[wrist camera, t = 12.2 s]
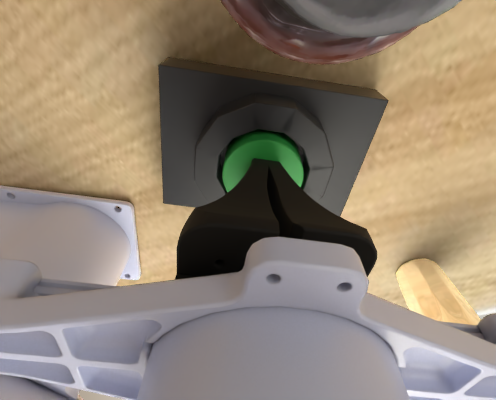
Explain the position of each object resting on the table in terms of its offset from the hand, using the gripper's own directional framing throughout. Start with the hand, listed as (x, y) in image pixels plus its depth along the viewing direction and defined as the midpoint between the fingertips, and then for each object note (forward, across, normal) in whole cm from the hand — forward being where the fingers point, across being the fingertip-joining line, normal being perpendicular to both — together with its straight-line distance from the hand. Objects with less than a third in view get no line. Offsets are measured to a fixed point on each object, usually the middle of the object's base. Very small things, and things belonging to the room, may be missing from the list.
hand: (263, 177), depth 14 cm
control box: (+4, 0, 0) cm, 4 cm away
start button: (+2, 0, 0) cm, 2 cm away
